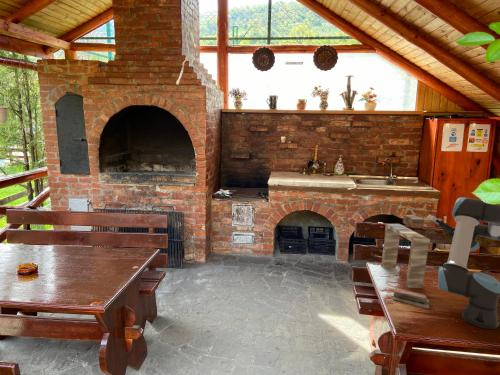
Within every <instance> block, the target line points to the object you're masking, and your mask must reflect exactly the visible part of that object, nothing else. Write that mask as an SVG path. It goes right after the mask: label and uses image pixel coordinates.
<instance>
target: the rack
mask: <svg viewBox="0 0 500 375" xmlns="http://www.w3.org/2000/svg"><path fill="white" fill-rule="evenodd" d="M400 237H403V238H404V239H406V240H408V241H409V242H411V243H410V251H409V259H408V267H407V272H406V273H407V274H406V281H405V286H406V287H407V288H408V289H412V288H413V289H417V288H419V289H421V288H423V287H424V286H423V285H424V280H425V273H426V266H427V260H428V252H429V251H428V250H429V245H430V242H431V239H430V238H428V237H427V236H424V235H422V234H420V233H419V232H416V231H414V230H412V229H410V228H409V227H406V226H404V225H402V224H400V223H385V230H384V238H383V250H382V256H381V264H380V267H381V268H383V269H394V268H397V260H398V253H399V247H400V246H399V245H400Z"/></svg>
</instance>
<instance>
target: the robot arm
mask: <svg viewBox="0 0 500 375" xmlns="http://www.w3.org/2000/svg"><path fill="white" fill-rule="evenodd" d="M481 200H482V199H477V198H472V197H471V198H470V197H458V198H457V199H456V201H455V203H454V206H453V209H452V212H451V216H452V217H453V220H454V222H455V223H456V224H455V226H454V227H451V226H450V225H449V224H447V223H446V222H445V221H444V220H443V221H440V220H439V219H440V218H437V217H436V216H435V215H431V214H430V213H429V214H428V216H426V219H431V220H432V221H433V222H435V223H436V224H435V225H436V226H437V227H439V228H440V229H442V230H443V231H444V232H445V233H447V236H448V237H449V238H450V239H451V240H452V241H451V245H450V248H449V249H450V250H449V253H448V254H449V255H448V259H447V262H445V263H443V266H439V268H438V275H437V276H438V277H437V278H438V279H437V286H438V289H439V290H441V291H445V292H446V293H449V294H454V295H456V296H457V295H458V296H461V297H464V298H467V299H468V302H467V304H466V305H465V307H464V309H463V310H462V314H461V318H462V319H463V320H464V321H465V322H466V323H468V324H471V326H474V327H476V328H477V327H478V328H480V329H481V328H482V329H484V330H485V329H486V330H496V329H497V328H498V327H499V318H498V313H497V309H498V303H499V297H500V281H499V279H497V278H495V277H494V276H492V275H489V274H487V273H483V272H476V271H475V272H473V274H471V273H470V270H469V268H468V267H467V265H468V260H469V256H470V252H475V251H477V250H478V249H479V248H480V242H478V240H477V238H478V237H482V238H487V239H491V240H495V241H500V204H499V205H490V204H486V203H484V202H483V201H481ZM481 222H482V223H488V225H487V224H481Z"/></svg>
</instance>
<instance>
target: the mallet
mask: <svg viewBox="0 0 500 375" xmlns="http://www.w3.org/2000/svg"><path fill="white" fill-rule="evenodd" d="M438 219H439V220H440V221H444V220H443V218H438ZM402 223H403V224H404V225H407V226H409V227H410V228H424V225H430V224H431V225H436V223H435V222H433V221H432V220H431V219H428V218H422V217H420V216H418V215H415V214H403V218H402Z"/></svg>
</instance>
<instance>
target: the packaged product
mask: <svg viewBox="0 0 500 375" xmlns="http://www.w3.org/2000/svg"><path fill="white" fill-rule="evenodd" d="M392 300H393V301H396V300H397V302H400V301H401V303H403V302H404V304H407V303H408V305H412V306H416V307H420V308H424V309H429V308H430V299H428V297H427V295H425V294H422V293H418V292H414V291H410V290H405V289H402V288H397V287H396V288H395V289H394V290H393V294H392Z"/></svg>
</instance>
